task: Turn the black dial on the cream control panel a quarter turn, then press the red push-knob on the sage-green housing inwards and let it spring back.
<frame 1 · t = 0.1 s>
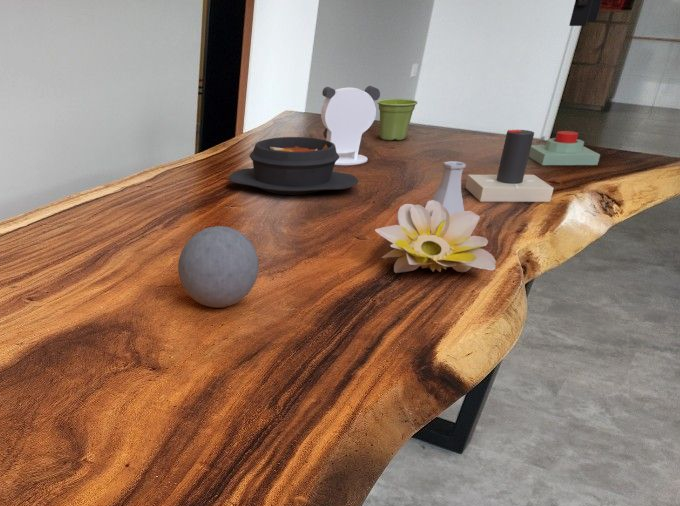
hand: (583, 23, 138), 26 cm above the table, tool pointing down, fingers open, 13 cm apart
dial panel: (506, 194, 133), on the table
plant pot: (391, 139, 180), on the table
decorative ball: (217, 305, 92), on the table
casserole: (291, 189, 141), on the table
button housing: (560, 160, 155), on the table
decorative flower: (426, 273, 100), on the table
dial: (515, 155, 129), point 7 cm above the table, hinge at 0.0°
flask: (442, 227, 118), on the table
panda figurine: (342, 160, 162), on the table
push knob: (566, 137, 153), point 5 cm above the table, slide at 0.1 cm
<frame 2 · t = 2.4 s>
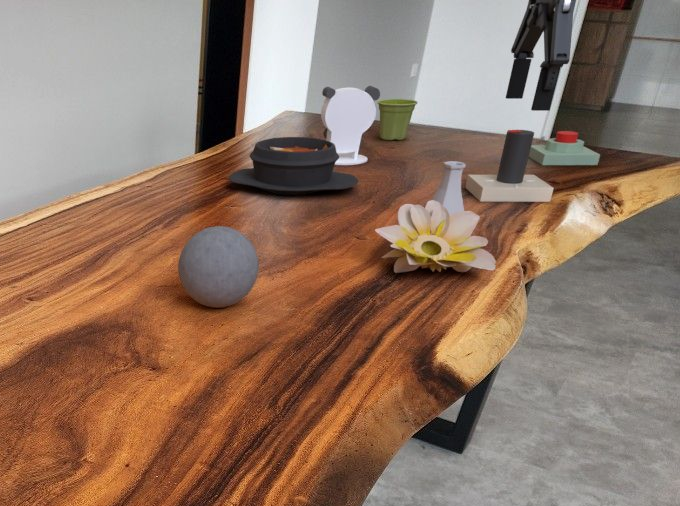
hand: (526, 104, 125), 16 cm above the table, tool pointing down, fingers open, 13 cm apart
nothing on the table moved.
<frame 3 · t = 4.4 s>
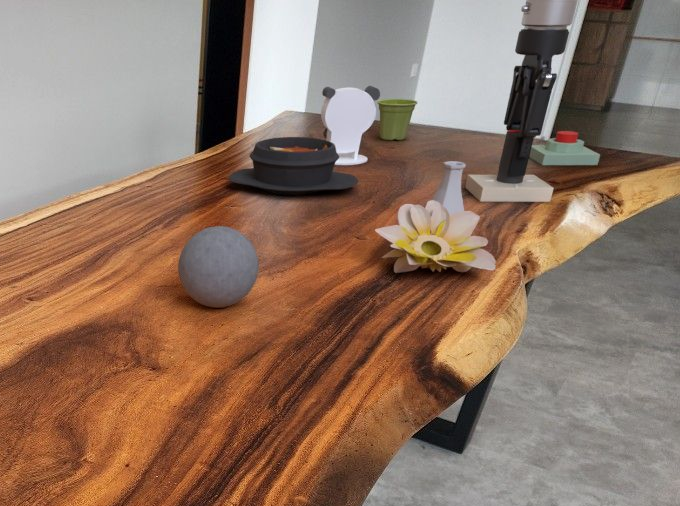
hand: (511, 171, 131), 4 cm above the table, tool pointing down, fingers closed on dial, 4 cm apart
dial: (515, 155, 129), point 7 cm above the table, hinge at -0.1°, touching gripper
everything else where it was.
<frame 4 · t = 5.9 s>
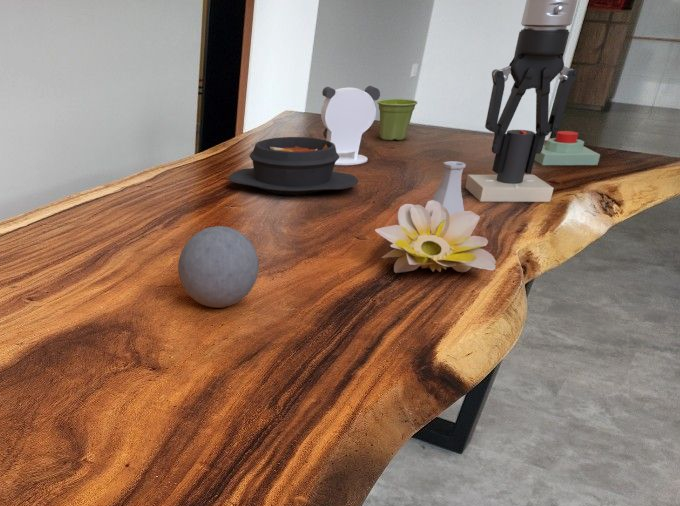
hand: (511, 171, 131), 4 cm above the table, tool pointing down, fingers closed on dial, 4 cm apart
dial: (515, 155, 129), point 7 cm above the table, hinge at 90.1°, touching gripper
everything else where it was.
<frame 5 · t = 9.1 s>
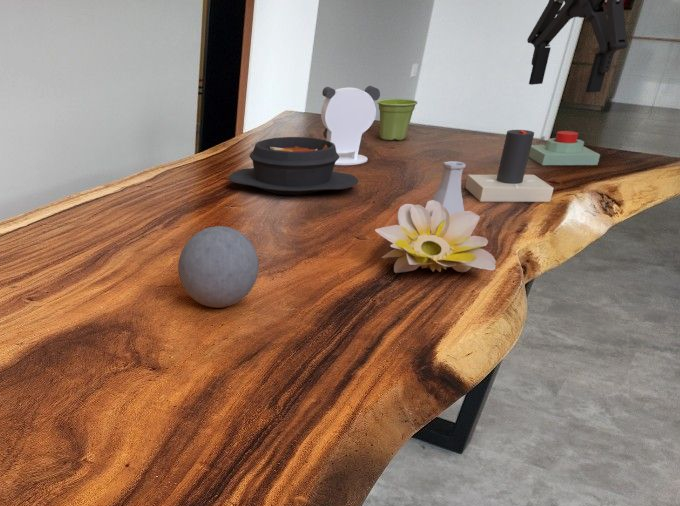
hand: (562, 88, 138), 16 cm above the table, tool pointing down, fingers open, 13 cm apart
dial: (515, 155, 129), point 7 cm above the table, hinge at 89.9°
everything else where it was.
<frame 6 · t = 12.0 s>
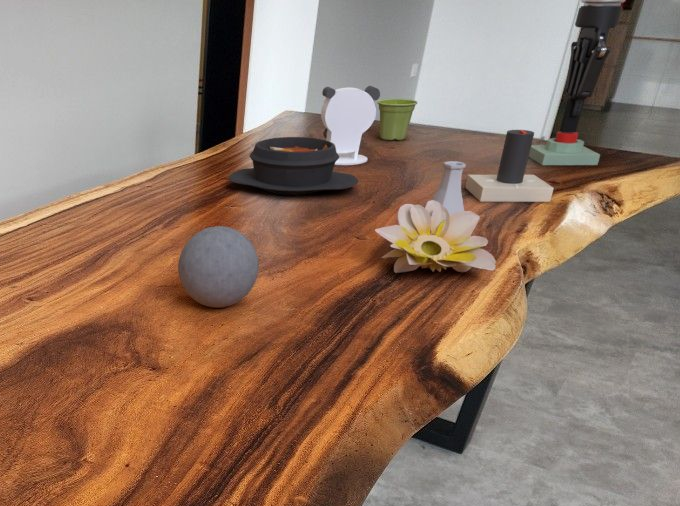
hand: (567, 131, 152), 6 cm above the table, tool pointing down, fingers closed
push knob: (566, 137, 153), point 5 cm above the table, slide at 0.1 cm, touching gripper
everything else where it was.
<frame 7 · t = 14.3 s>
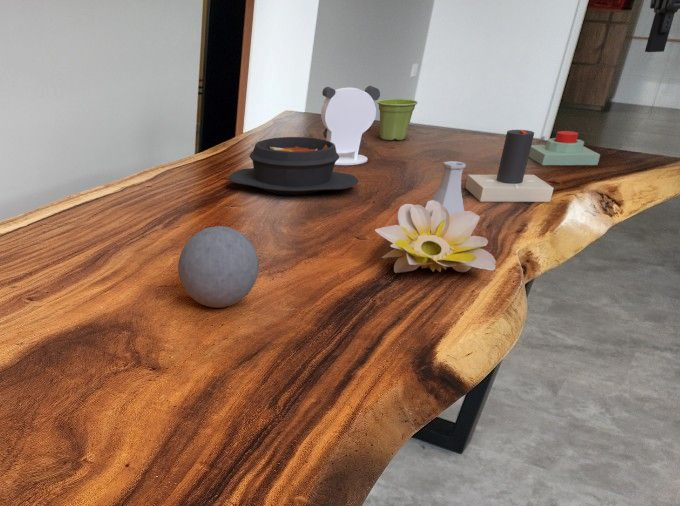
hand: (654, 51, 138), 22 cm above the table, tool pointing down, fingers closed
push knob: (566, 137, 153), point 5 cm above the table, slide at 0.1 cm
everything else where it was.
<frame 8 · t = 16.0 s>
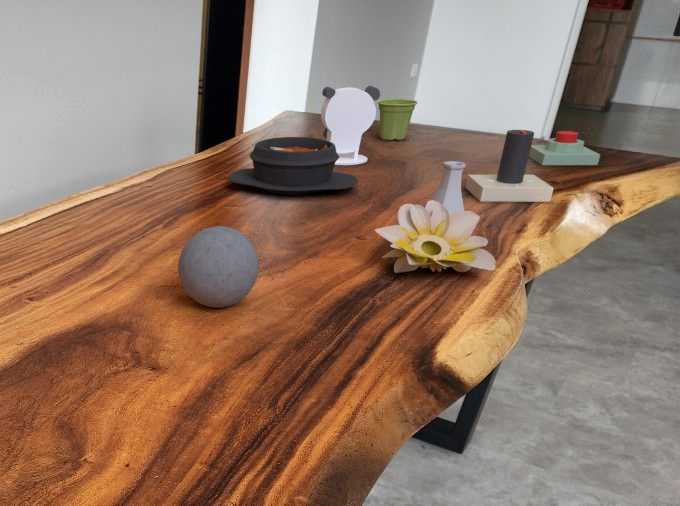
nothing on the table moved.
at the end: dial at +90° (first picture: +0°); push knob pushed in 1.0 cm at the most during the clip, back to where it started at the end; push knob slide at 0.1 cm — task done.
